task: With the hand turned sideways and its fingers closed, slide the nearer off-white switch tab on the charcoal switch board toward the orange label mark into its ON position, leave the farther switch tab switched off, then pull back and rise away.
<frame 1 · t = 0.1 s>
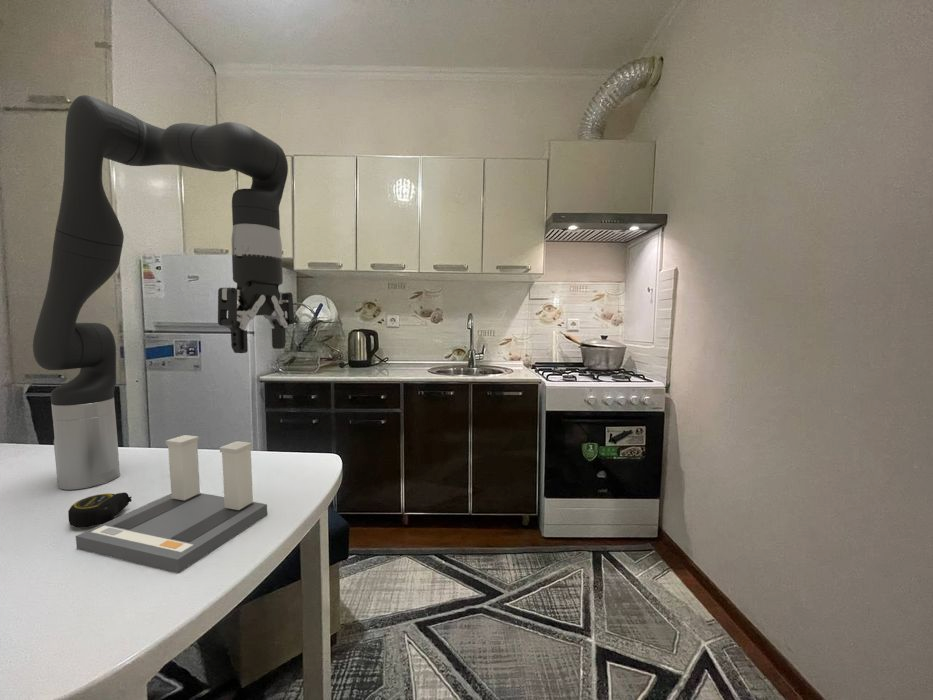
hand: (260, 350, 67), 29 cm above the table, fingers open, 8 cm apart
tape measure: (104, 521, 66), on the table
switch tab 1: (184, 467, 70), point 8 cm above the table, slide at 0.0 cm
switch board: (179, 530, 63), on the table
switch tab 2: (237, 475, 66), point 8 cm above the table, slide at 0.0 cm
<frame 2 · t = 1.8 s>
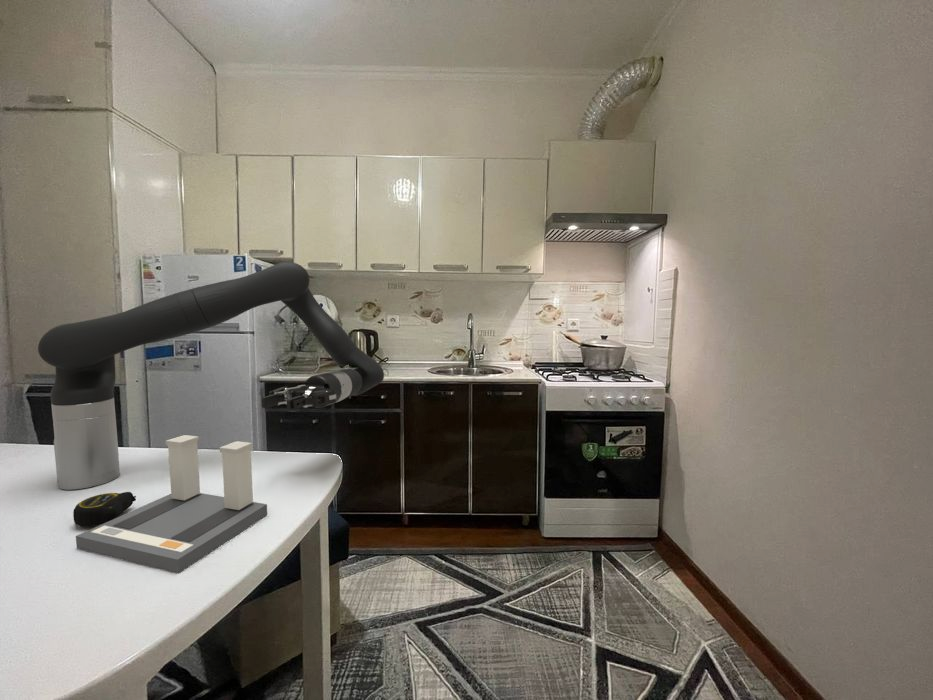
hand: (275, 404, 74), 18 cm above the table, fingers open, 5 cm apart
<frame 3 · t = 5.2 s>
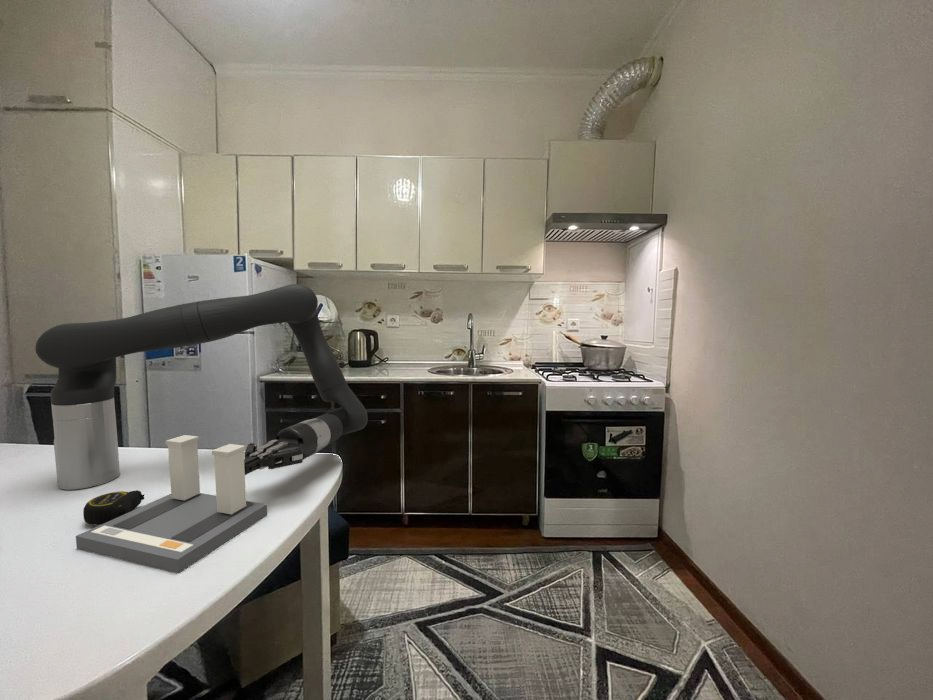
hand: (237, 470, 66), 8 cm above the table, fingers closed
tape measure: (117, 518, 67), on the table
switch tab 2: (230, 478, 65), point 8 cm above the table, slide at 1.5 cm, touching gripper
everything else where it was.
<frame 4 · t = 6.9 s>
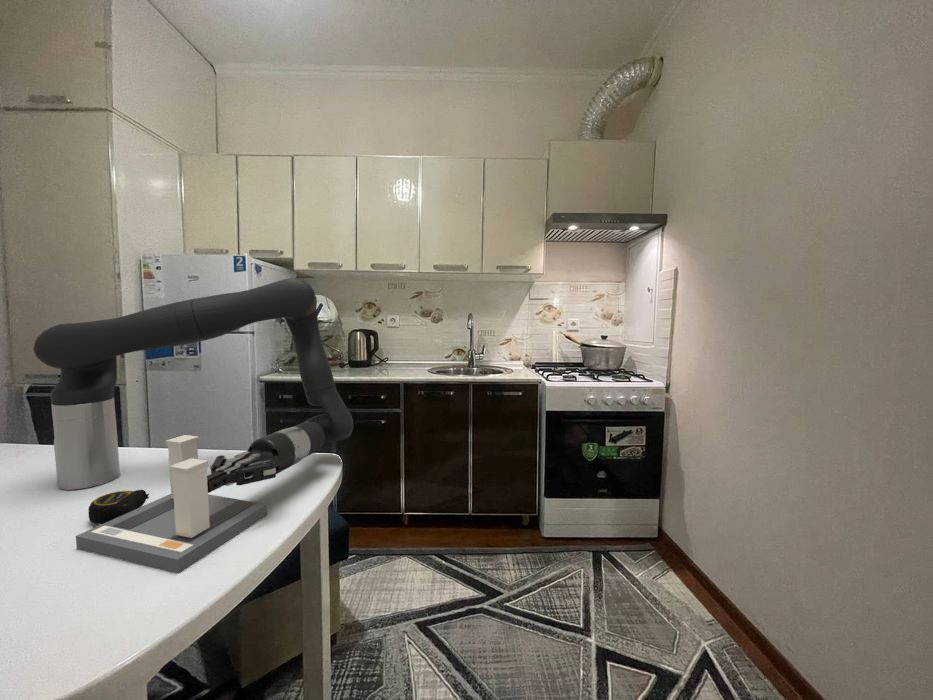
hand: (200, 488, 60), 8 cm above the table, fingers closed
switch tab 2: (191, 497, 58), point 8 cm above the table, slide at 8.5 cm, touching gripper
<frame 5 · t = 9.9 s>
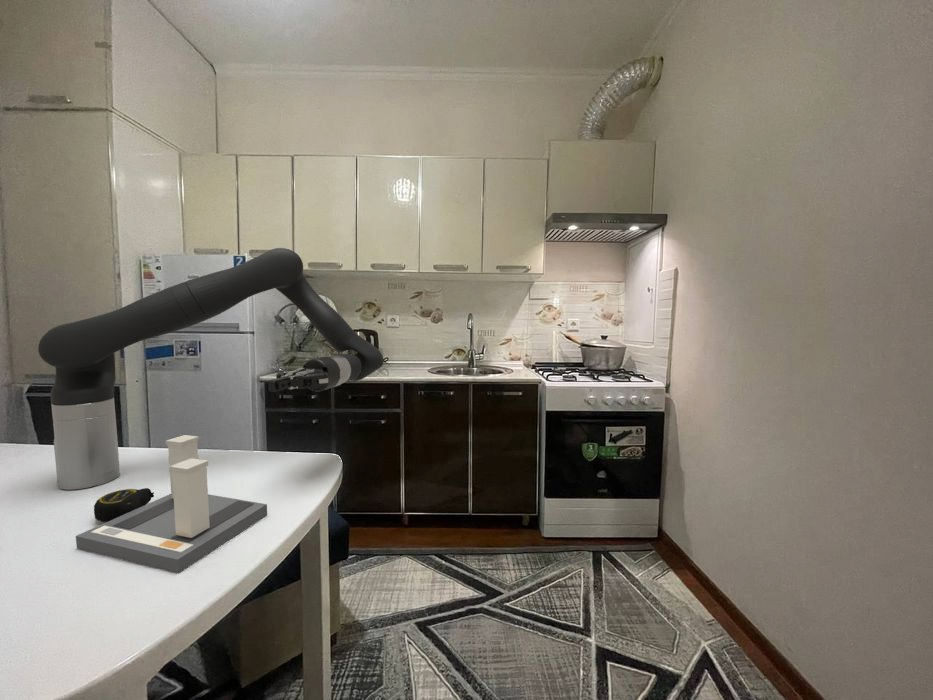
hand: (271, 386, 74), 22 cm above the table, fingers closed
switch tab 2: (191, 497, 58), point 8 cm above the table, slide at 8.5 cm
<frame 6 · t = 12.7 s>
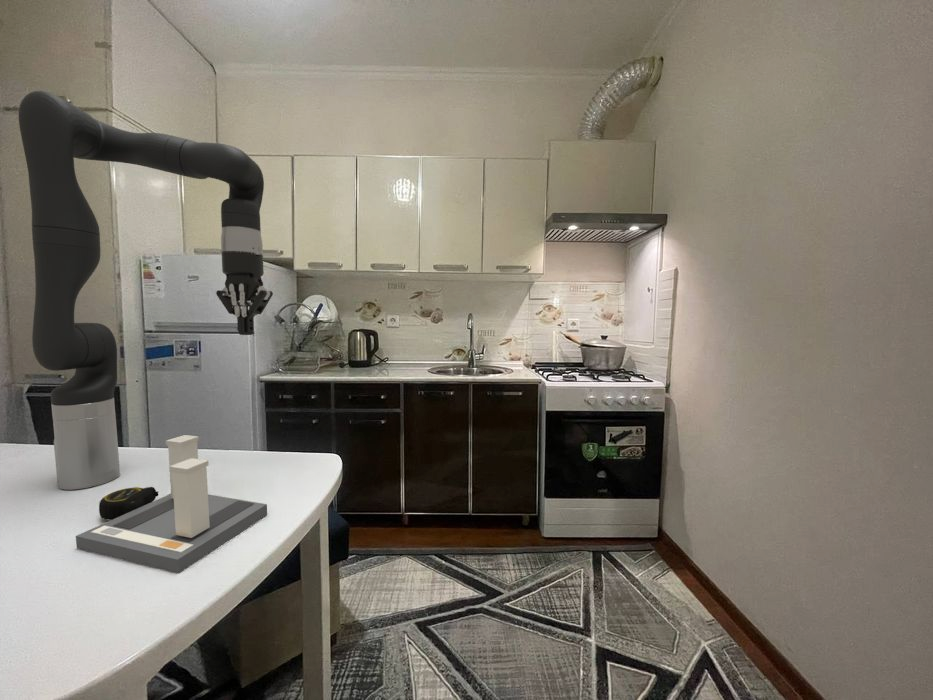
hand: (246, 334, 82), 31 cm above the table, fingers closed
at the end: switch tab 2 slide at 8.5 cm; switch tab 1 slide at 0.0 cm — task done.
